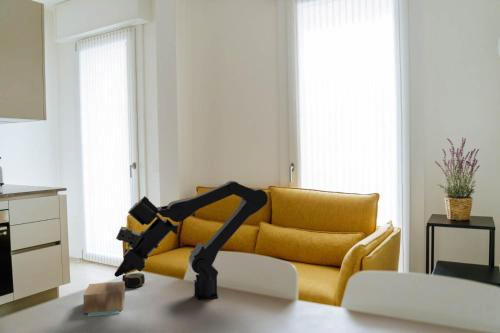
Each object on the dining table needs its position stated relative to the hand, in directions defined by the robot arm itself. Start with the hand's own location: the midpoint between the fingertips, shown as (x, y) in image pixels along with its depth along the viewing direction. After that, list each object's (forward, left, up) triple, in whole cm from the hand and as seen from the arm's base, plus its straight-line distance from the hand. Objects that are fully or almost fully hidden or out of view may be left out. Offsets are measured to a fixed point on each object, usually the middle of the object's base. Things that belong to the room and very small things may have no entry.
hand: (115, 275), depth 117 cm
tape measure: (-4, -18, -9) cm, 20 cm away
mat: (+3, 0, -9) cm, 9 cm away
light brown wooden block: (-2, 0, -6) cm, 6 cm away
